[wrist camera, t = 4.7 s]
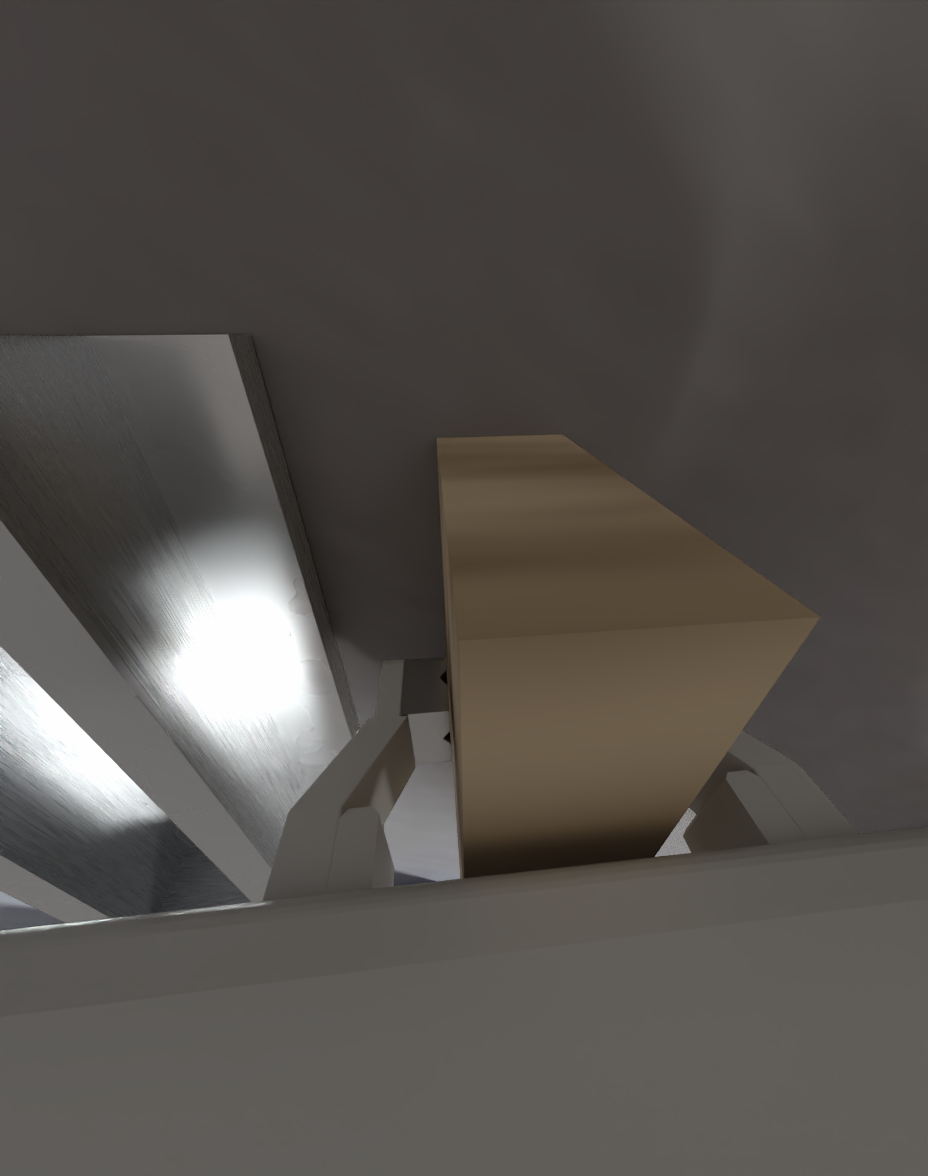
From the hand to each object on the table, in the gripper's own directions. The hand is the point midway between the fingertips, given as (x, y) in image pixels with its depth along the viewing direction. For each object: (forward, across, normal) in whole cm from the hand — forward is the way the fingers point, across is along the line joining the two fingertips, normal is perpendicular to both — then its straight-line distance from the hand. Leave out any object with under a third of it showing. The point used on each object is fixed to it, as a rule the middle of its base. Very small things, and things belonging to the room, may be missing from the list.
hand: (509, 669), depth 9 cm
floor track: (+3, +11, +3) cm, 12 cm away
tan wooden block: (+3, 0, 0) cm, 3 cm away
